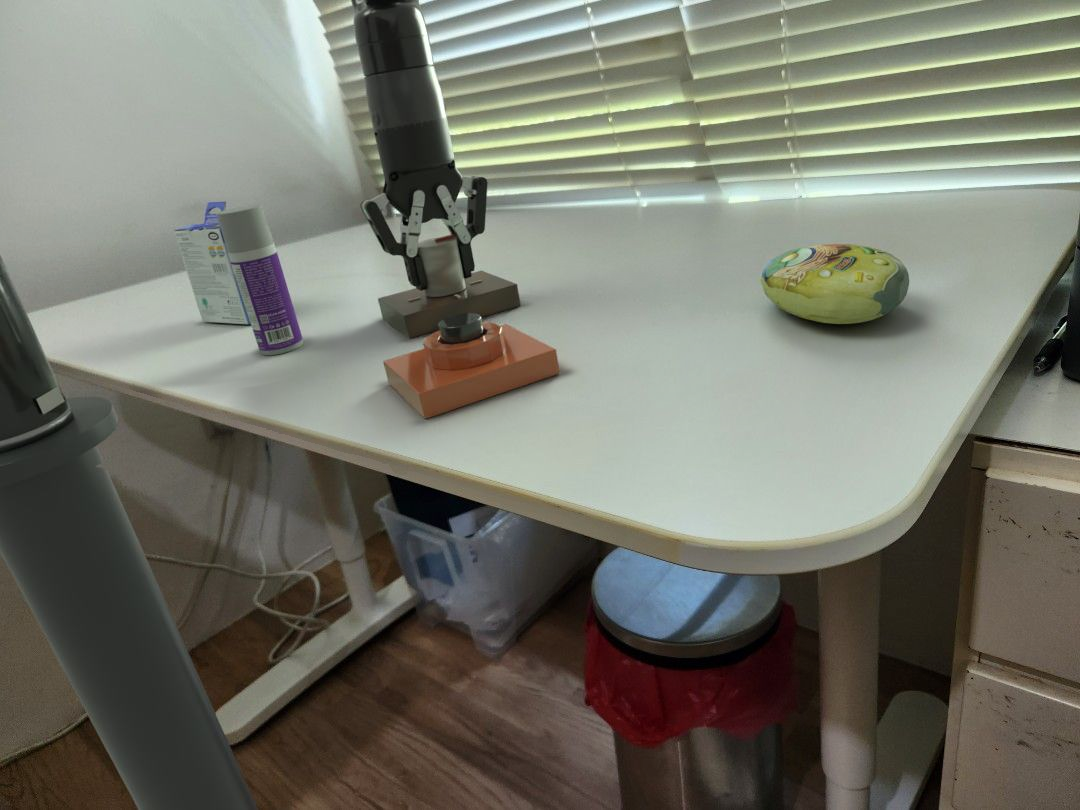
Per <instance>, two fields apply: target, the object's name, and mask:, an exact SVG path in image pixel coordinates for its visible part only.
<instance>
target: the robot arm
mask: <svg viewBox="0 0 1080 810" xmlns="http://www.w3.org/2000/svg"><path fill="white" fill-rule="evenodd" d="M350 1H351V5H352V9H353V31H354V32H353V33H354V38H355V44H356V47H357V52H358V57H359V62H360V65H361V70H362V74H363V80H364V85H365V96H366V102H367V107H368V113H369V117H370V122H371V125H372V130H373V134H374V138H375V144H376V147H377V152H378V156H379V161H380V164H381V169H382V173H383V179H384V185H383V188H382V192H381V193H380V194H378V195H376V196H375V197H373V198H371V199H364V200H362V201H361V203H360V209H361V211H362V213H363V215H364V217H365V219H366V221H367V222H368V224H369V226H370V228H371V230H372V231H373V233H374V235H375V238H376V239H377V241H378V243H379V245H380V246H381V249H382V251H383V252H385V253H387V254H389V255H391V256H394V257H395V256H401V258H402V259H403V263H404V268H405V272H406V276H407V281H408V282H409V284H410V285H411V286H413V287H414V288H417V289H418V290H420V291H422V290H426V289H427V284H426V279H425V275H424V270H423V266H422V261H421V256H418V255H417V250H418V243H419V239H420V235H421V233H422V224H425V223H428V222H430V221H432V220H434V219H435V220H441V221H442V223H443V224H444V225H445V226H446V228H447V230H448V232H449V233H450V235H451V234H455V237H456V239H457V244H458V249H459V254H460V259H461V264H462V269H463V274H464V278H465V279H466V278H469V277H471V276H472V274H471V273H472V272H475V268H476V265H475V259H474V253H473V249H472V240H473V239H474V238H475V237H477V236H478V235H482V234H483V233H484V232H485V230H486V216H487V215H486V214H487V201H488V200H487V199H488V179H487V178H486V177H483V176H476V175H472V176H470V177H469V176H463V175H462V174H461V172H460V171H459V170H458V167H457V166H456V160H455V159H456V158H455V152H454V148H453V143H452V138H451V132H450V126H449V122H448V116H447V105H446V102H445V100H444V97H443V91H442V88H441V84H440V81H439V78H438V75H437V71H436V67H435V62H434V57H433V51H432V46H431V42H430V37H429V32H428V26H427V24H426V20H425V17H424V14H423V11H422V8H421V4H420V0H350ZM461 189H463V194H464V196H466V198H467V207H466V224H465V222H464V218H463V216H462V215H461V213H460V211H459V209H458V207H457V205H456V202H457V200H458V197H459V194H460V192H461ZM388 203H389V204H390V205H391V206H392V207H393V208H394V209H395V210H396V211H397V212H398V213H399V214H400V222H399V223H400V224H399V232H400V240H399V242H397V240H396V237H395V235H394V234H393V232H392V230H391V228H390V226H389V224H388V222H387V220H386V219H385V218H386V217H387V216H388V209H387V206H388ZM66 399H67V398H66V396H65V394H64V393H63V391H62V389H61V386H60V385H59V382H58V380H57V378H56V374H55V372H54V371H53V368H52V366H51V364H50V362H49V360H48V357H47V355H46V353H45V351H44V349H43V346H42V344H41V342H40V340H39V338H38V335H37V333H36V332H35V329H34V327H33V324H32V322H31V320H30V318H29V316H28V313H27V312H26V309H25V307H24V305H23V302H22V300H21V297H20V295H19V293H18V291H17V289H16V286H15V284H14V282H13V280H12V278H11V275H10V274H9V271H8V269H7V267H6V265H5V263H4V261H3V258H2V255H0V453H2V452H6V451H10V450H13V449H16V448H19V447H22V446H25V445H28V444H31V443H33V442H35V441H38V440H40V439H42V438H45V437H47V436H49V435H51V434H53V433H54V432H56V431H58V430H60V429H61V428H63V427H64V426H65V425H67V424H68V423H69V422H70V421H71V420H72V419H73V416H74V415H73V412H72V410H71V408H70V406H69V404H68V403H67V402H66Z"/></svg>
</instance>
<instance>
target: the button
mask: <svg viewBox="0 0 1080 810" xmlns="http://www.w3.org/2000/svg"><path fill="white" fill-rule="evenodd" d="M482 322H483V320H482V317H481V316H480V315H479V314H475V313H465V314H458V315H454V316H450V317H448V318H445V319H443V320H442V321H440V322H439V324H438V326H439V330H438V331H440V335H441V340H442V344H450V345H453V344H461V343H467V342H470V341H474V340H477V339H479V338H481V337H482V336H484V330H483V324H482Z"/></svg>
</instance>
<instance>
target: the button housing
mask: <svg viewBox="0 0 1080 810" xmlns="http://www.w3.org/2000/svg"><path fill="white" fill-rule="evenodd" d="M482 324H483V330H484V336H482V337H481V338H479V339H477V340H474V341H470V342H467V343H461V344H453V345H450V344H442V340H441V335H440V331H439V330H437V331H434V332H433V333H432V334H430V335H428V336H426V338H425V340H424V342H423V343H422V345H423V348H422V349H419V350H415V351H412V352H409V353H406V354H402V355H398V356H395V357H393V358H389V359H385V360H383V362H382V363H383V367H384V370H385V375H386V379H387V382H388V385H389V386H390V387H392V388H393V390H395V391H396V393H398V394H399V395H400V396H401V397H402V398H403V399H404V400H405V402H407V403H408V404H409V405H410V406H411V407H412V408H413V409H414V410H415V411H416V412H417V413H418V414H419V415H420V416H421V417H422V418H424V420H427V419H431V418H433V417H436V416H438V415H441V414H444V413H448V412H451V411H453V410H456V409H459V408H462V407H466V406H468V405H471V404H474V403H477V402H479V401H482V400H485V399H489V398H492V397H495V396H498V395H501V394H503V393H506V392H510V391H512V390H515V389H518V388H521V387H523V386H527V385H530V384H533V383H536V382H539V381H542V380H544V379H547V378H550V377H553V376H556V375H559V374H560V372H561V371H560V367H559V359H558V353H557V349H556V348H554V347H552V346H551V345H549V344H546V343H545V342H542V341H540V340H538V339H537V338H534V337H532V336H530V335H528V334H526V333H524V332H523V331H521V330H519V329H516V328H515V327H512V326H511V325H508V324H506V323H505V324H501V325H499V324H497V323H494V322H485V321H482Z"/></svg>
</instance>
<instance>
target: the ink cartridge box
mask: <svg viewBox="0 0 1080 810" xmlns="http://www.w3.org/2000/svg"><path fill="white" fill-rule="evenodd" d="M226 207H227V201H226V200H225V201H210V202H207V205H206V209H205V213H204V214H205V215H204V221H203V222H198V223H195V224H190V225H186V226H183V227H180V228H177V229H174V230H173V233H174V236H175V240H176V243H177V245H178V248H179V252H180V255H181V258H182V261H183V265H184V268H185V271H186V274H187V277H188V280H189V283H190V286H191V289H192V292H193V296H194V299H195V302H196V305H197V309H198V311H199V315H200V317H201V321H202V322H203V323H221V324H235V325H251V323H250V320H249V317H248V314H247V311H246V308H245V304H244V301H243V298H242V295H241V292H240V289H239V286H238V283H237V280H236V277H235V274H234V271H233V268H232V265H231V261H230V258H229V255H228V251H227V248H226V244H225V241H224V238H223V234H222V231H221V228H220V224H219V221H218V217H217V213H211V211H212V210H214V209H215V208H217V209H220V211H224V210H226Z"/></svg>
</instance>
